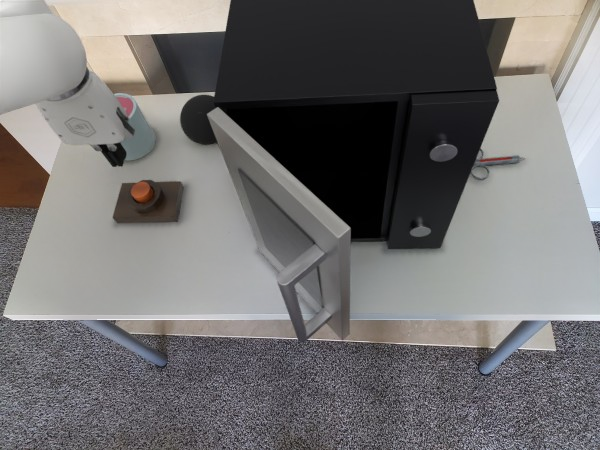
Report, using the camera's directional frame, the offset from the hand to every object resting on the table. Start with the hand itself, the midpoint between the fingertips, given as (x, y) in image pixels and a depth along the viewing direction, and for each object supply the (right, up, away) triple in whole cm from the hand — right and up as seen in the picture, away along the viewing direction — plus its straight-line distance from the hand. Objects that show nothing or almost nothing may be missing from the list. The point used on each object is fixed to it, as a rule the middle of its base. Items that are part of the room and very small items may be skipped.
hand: (119, 159), depth 75 cm
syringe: (+66, 0, +9) cm, 66 cm away
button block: (+1, -7, +12) cm, 14 cm away
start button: (+1, -5, +9) cm, 10 cm away
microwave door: (+29, -24, -1) cm, 37 cm away
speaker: (+12, +8, +20) cm, 24 cm away
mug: (-7, +7, +21) cm, 24 cm away
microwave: (+40, -3, +10) cm, 41 cm away
